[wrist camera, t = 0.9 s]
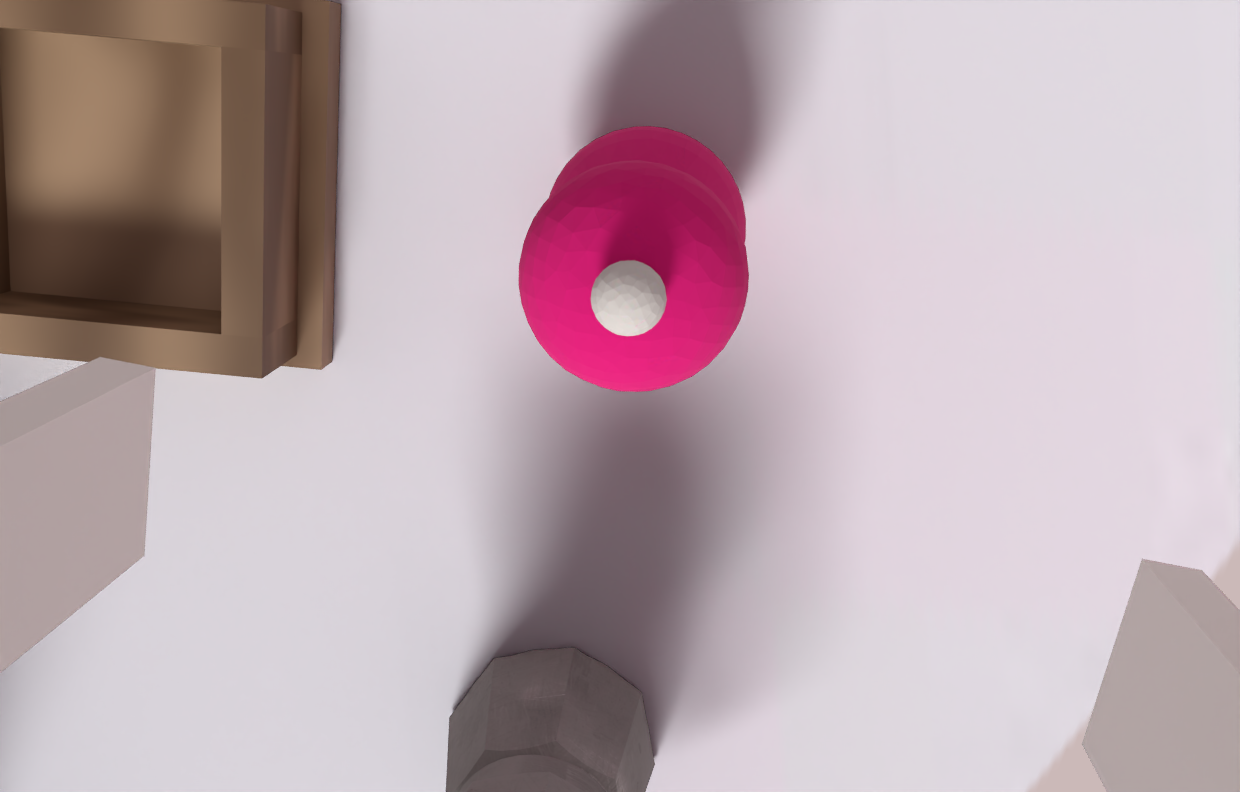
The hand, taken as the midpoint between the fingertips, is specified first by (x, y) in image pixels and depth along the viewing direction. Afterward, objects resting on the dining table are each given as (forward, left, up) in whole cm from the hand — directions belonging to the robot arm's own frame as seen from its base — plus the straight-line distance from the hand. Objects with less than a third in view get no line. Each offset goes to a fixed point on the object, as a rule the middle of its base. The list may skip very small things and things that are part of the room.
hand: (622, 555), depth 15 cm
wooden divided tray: (-18, +20, -32) cm, 42 cm away
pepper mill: (+1, +1, -32) cm, 32 cm away
